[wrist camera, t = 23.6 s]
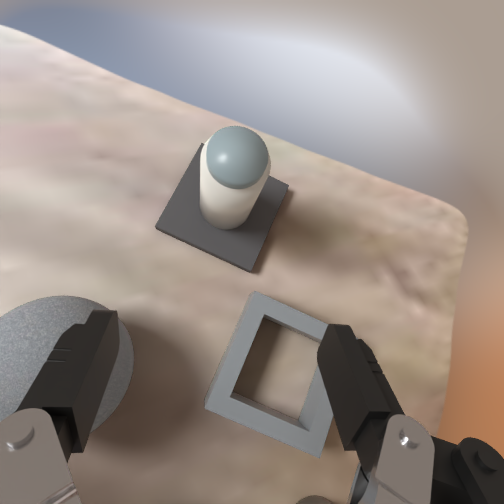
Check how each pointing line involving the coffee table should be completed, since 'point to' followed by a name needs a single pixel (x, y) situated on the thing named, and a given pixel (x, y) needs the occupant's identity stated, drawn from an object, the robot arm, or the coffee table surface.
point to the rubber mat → (213, 239)
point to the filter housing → (257, 415)
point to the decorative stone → (42, 343)
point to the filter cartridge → (232, 176)
